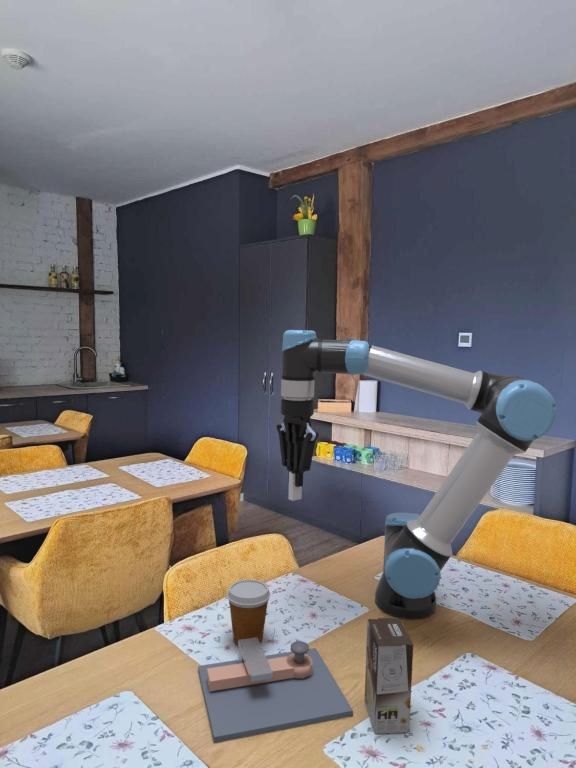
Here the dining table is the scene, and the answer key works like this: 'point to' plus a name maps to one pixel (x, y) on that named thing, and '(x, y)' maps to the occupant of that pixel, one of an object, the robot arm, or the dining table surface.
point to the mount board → (273, 702)
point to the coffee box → (388, 675)
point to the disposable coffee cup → (248, 608)
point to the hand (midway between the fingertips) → (295, 498)
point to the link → (281, 667)
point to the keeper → (254, 659)
